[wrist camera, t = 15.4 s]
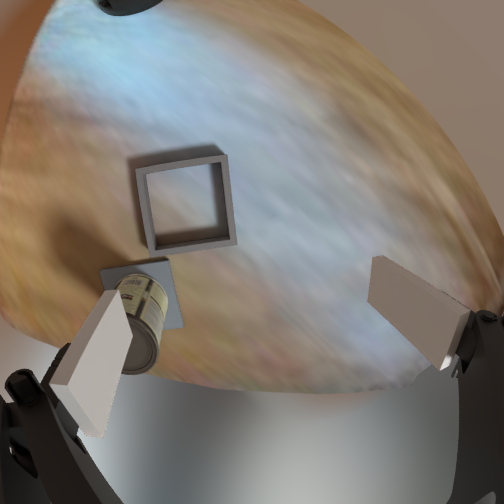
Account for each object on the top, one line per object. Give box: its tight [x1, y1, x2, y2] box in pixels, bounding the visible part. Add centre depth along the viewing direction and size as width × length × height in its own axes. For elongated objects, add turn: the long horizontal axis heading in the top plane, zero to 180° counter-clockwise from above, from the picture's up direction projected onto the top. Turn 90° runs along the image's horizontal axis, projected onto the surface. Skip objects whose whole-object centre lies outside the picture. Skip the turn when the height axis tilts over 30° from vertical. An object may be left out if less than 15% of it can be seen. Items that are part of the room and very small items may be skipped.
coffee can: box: [114, 274, 168, 375], centre depth 38 cm, size 10×10×14 cm
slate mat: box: [99, 259, 184, 330], centre depth 45 cm, size 13×13×1 cm
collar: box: [135, 155, 237, 258], centre depth 41 cm, size 14×14×2 cm
